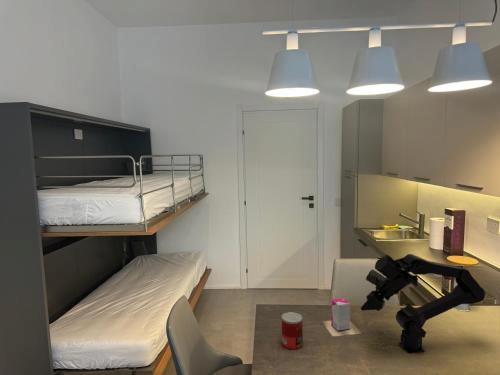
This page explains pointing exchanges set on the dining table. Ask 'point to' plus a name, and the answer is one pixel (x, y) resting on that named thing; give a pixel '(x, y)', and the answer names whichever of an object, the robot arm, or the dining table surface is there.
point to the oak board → (335, 333)
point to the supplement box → (340, 314)
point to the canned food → (292, 330)
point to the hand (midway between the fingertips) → (364, 304)
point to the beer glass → (462, 306)
